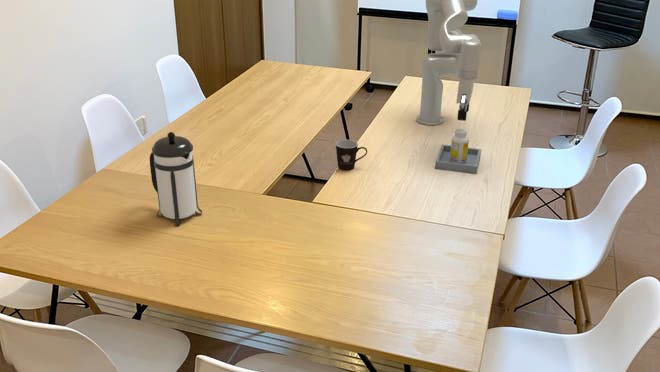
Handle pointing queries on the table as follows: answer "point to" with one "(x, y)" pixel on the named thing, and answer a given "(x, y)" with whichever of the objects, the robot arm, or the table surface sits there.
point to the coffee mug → (347, 154)
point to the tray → (468, 166)
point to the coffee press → (174, 177)
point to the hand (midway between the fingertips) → (462, 115)
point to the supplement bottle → (459, 146)
